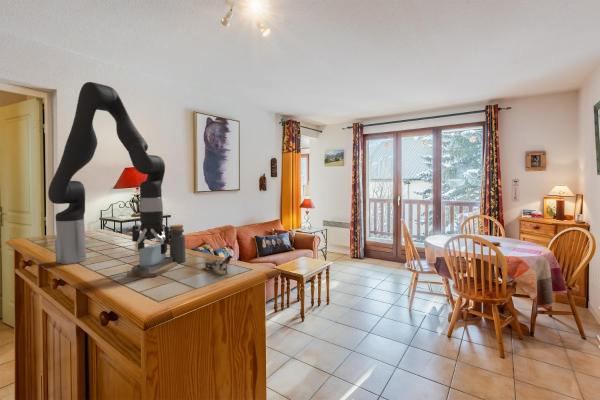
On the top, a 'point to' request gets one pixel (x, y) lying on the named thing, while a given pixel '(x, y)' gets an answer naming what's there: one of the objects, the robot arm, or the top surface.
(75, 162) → the robot arm
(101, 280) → the top surface
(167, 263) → the grey piece
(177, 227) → the bottle
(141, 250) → the door
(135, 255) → the top surface
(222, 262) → the figurine
